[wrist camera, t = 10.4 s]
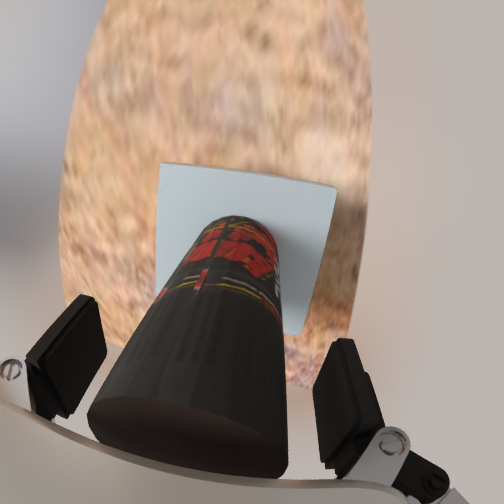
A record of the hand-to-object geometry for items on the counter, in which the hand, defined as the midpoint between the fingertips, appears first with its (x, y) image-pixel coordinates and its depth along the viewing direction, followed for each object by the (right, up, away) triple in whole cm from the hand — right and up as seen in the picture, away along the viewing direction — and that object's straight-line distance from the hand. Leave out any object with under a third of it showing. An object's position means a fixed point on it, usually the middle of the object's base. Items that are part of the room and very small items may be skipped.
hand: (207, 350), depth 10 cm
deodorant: (+1, +4, +10) cm, 11 cm away
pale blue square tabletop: (+1, +6, +16) cm, 18 cm away
